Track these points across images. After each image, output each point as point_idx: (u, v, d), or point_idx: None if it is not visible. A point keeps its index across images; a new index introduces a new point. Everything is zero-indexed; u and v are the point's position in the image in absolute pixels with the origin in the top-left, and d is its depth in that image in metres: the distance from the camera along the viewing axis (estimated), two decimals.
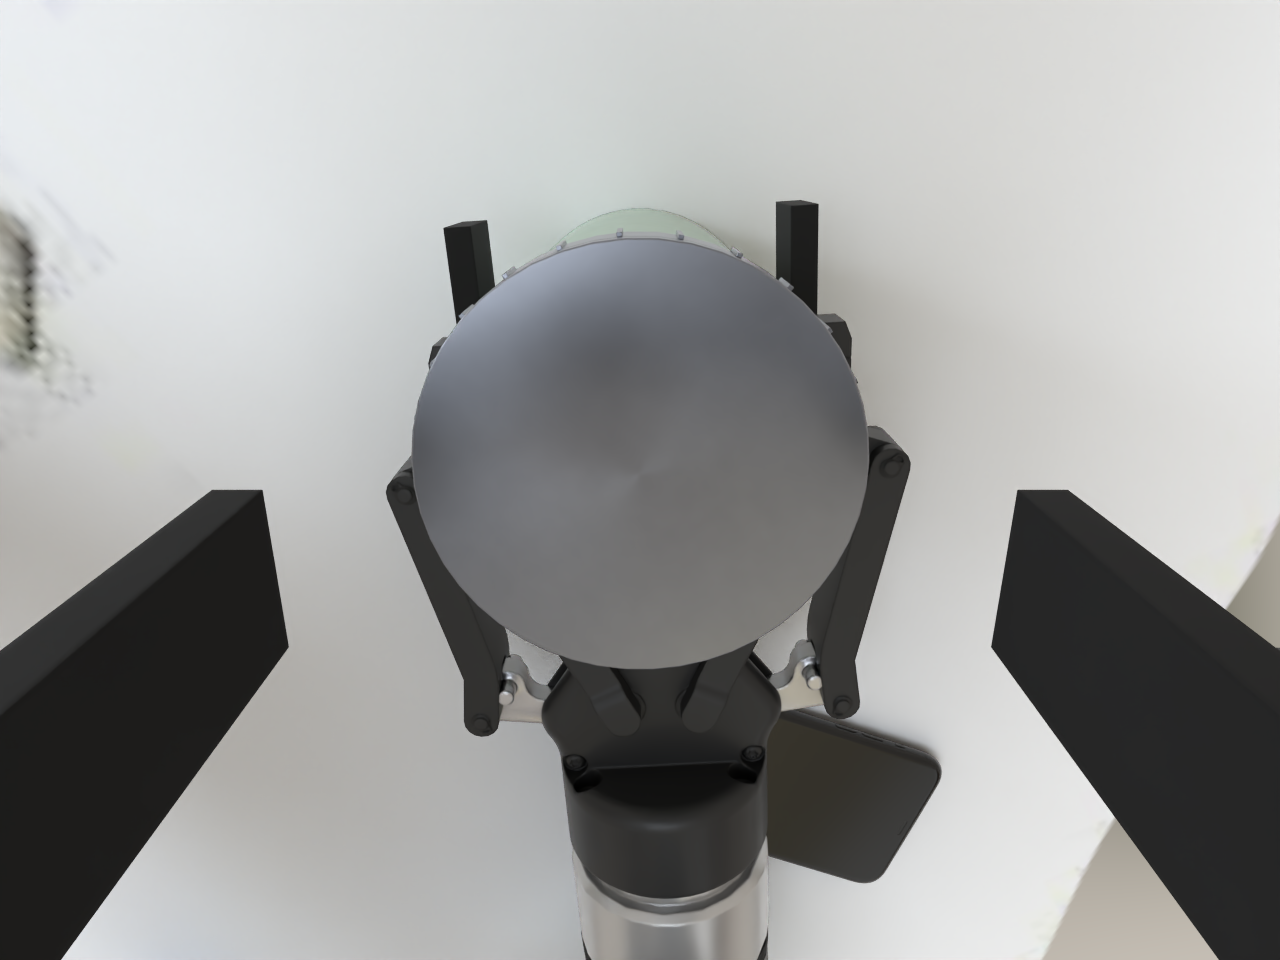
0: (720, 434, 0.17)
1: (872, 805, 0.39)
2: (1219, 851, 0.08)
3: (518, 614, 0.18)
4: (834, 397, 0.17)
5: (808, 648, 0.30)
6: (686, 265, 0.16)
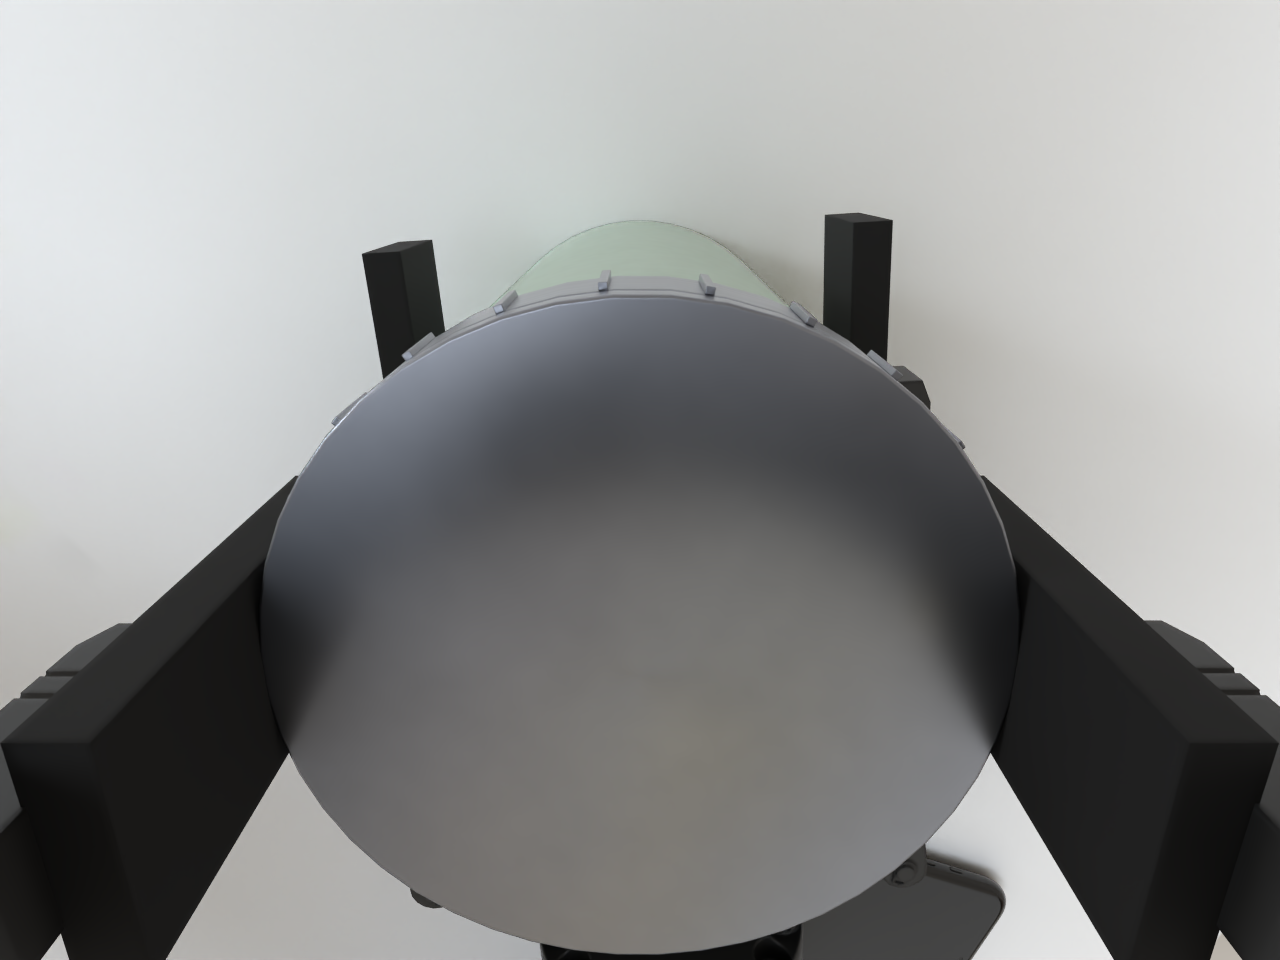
0: (773, 616, 0.10)
1: (921, 939, 0.32)
2: (1082, 805, 0.09)
3: (446, 879, 0.12)
4: (968, 558, 0.10)
5: None
6: (720, 342, 0.09)
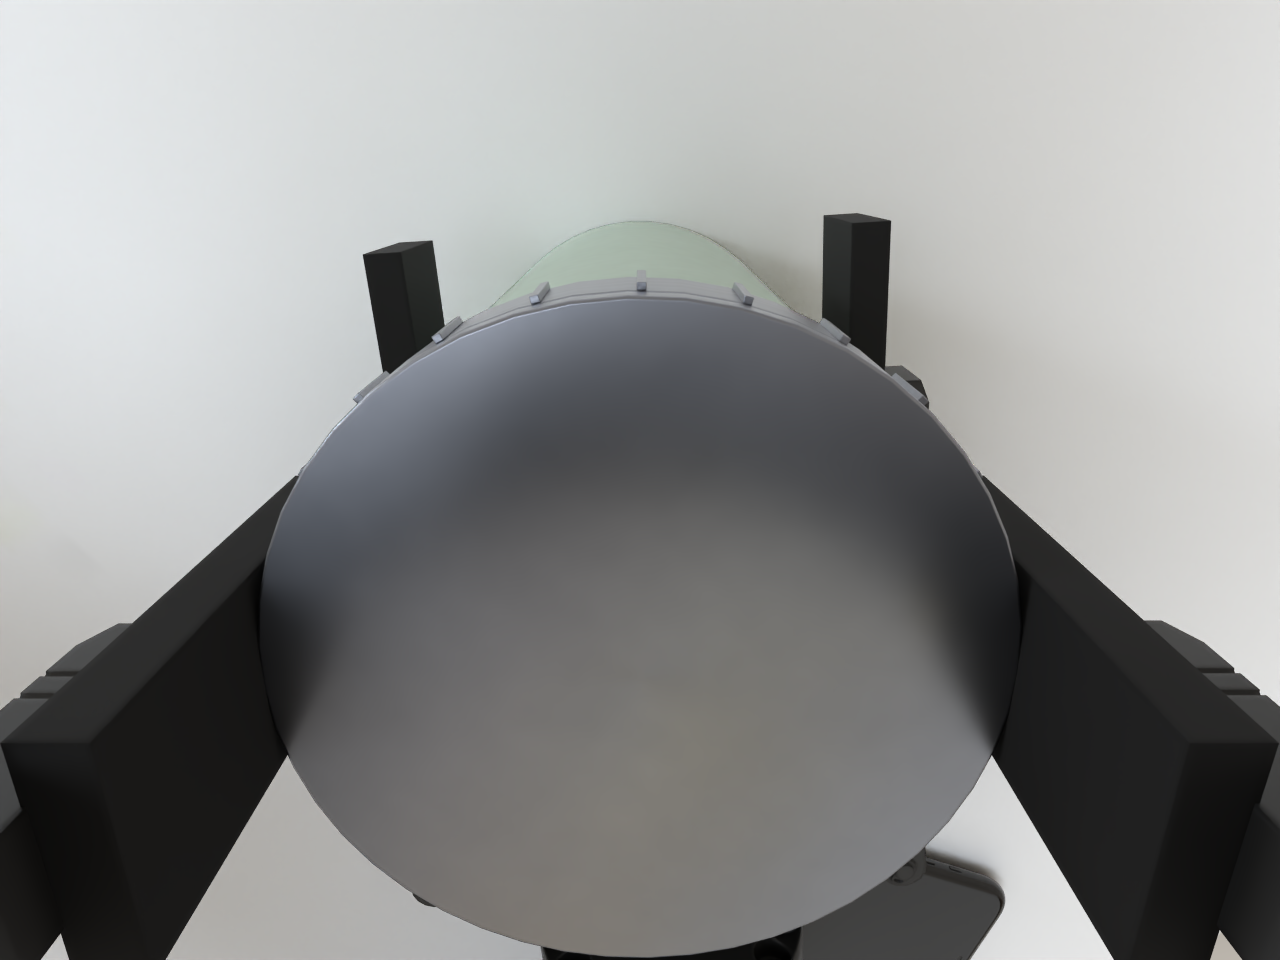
0: (553, 568, 0.10)
1: (920, 938, 0.32)
2: (1083, 806, 0.09)
3: (903, 827, 0.11)
4: (455, 390, 0.09)
5: None
6: (290, 648, 0.10)
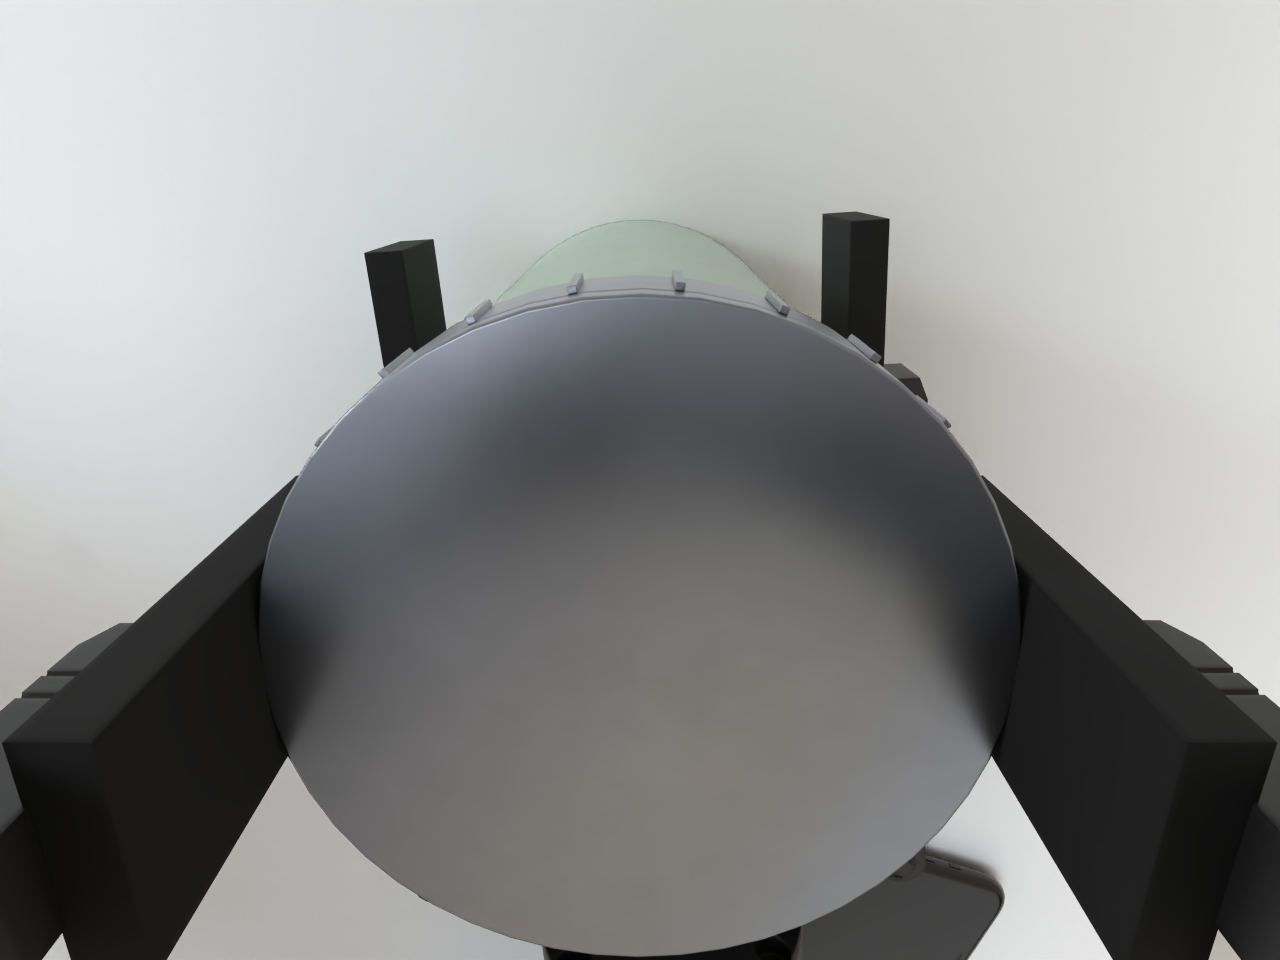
0: (529, 755, 0.11)
1: (920, 936, 0.32)
2: (1081, 805, 0.09)
3: (821, 382, 0.09)
4: (380, 828, 0.11)
5: None
6: (637, 937, 0.12)
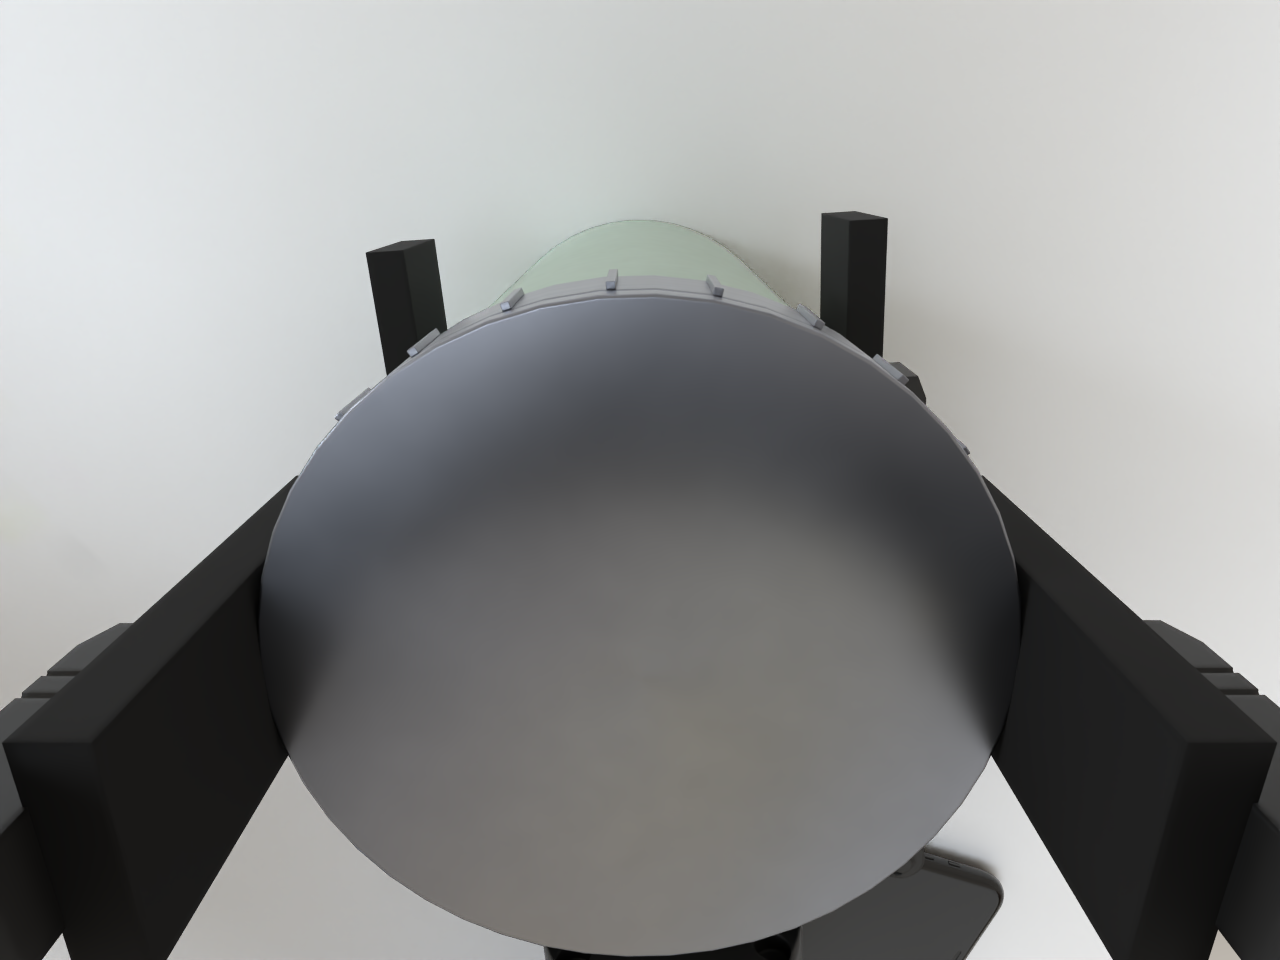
0: (740, 764, 0.11)
1: (920, 933, 0.32)
2: (1081, 806, 0.09)
3: (306, 560, 0.10)
4: (835, 878, 0.11)
5: None
6: (988, 651, 0.10)
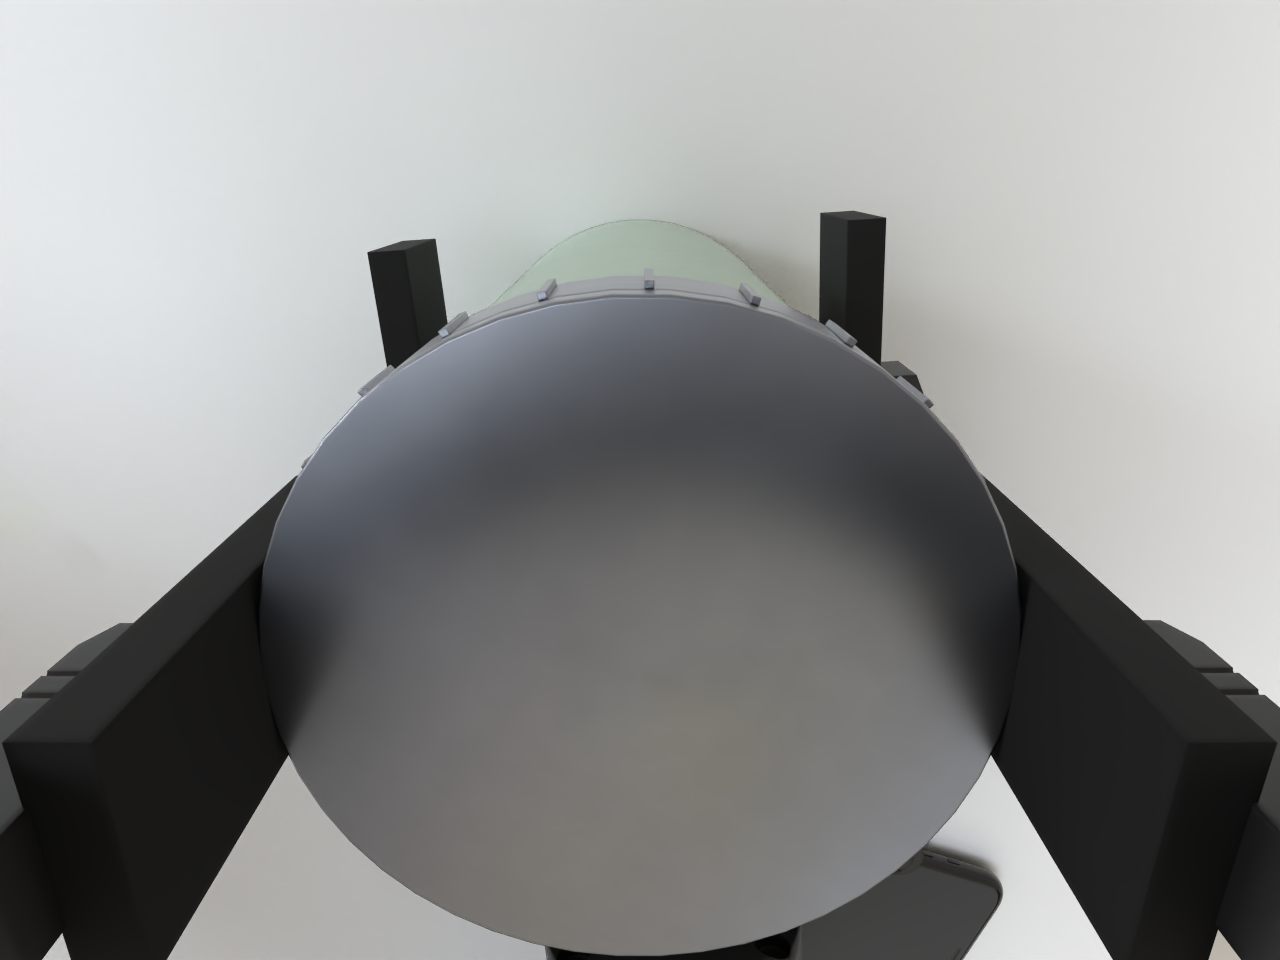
0: (738, 575, 0.10)
1: (919, 930, 0.33)
2: (1082, 805, 0.09)
3: (554, 922, 0.12)
4: (903, 448, 0.09)
5: None
6: (563, 340, 0.09)
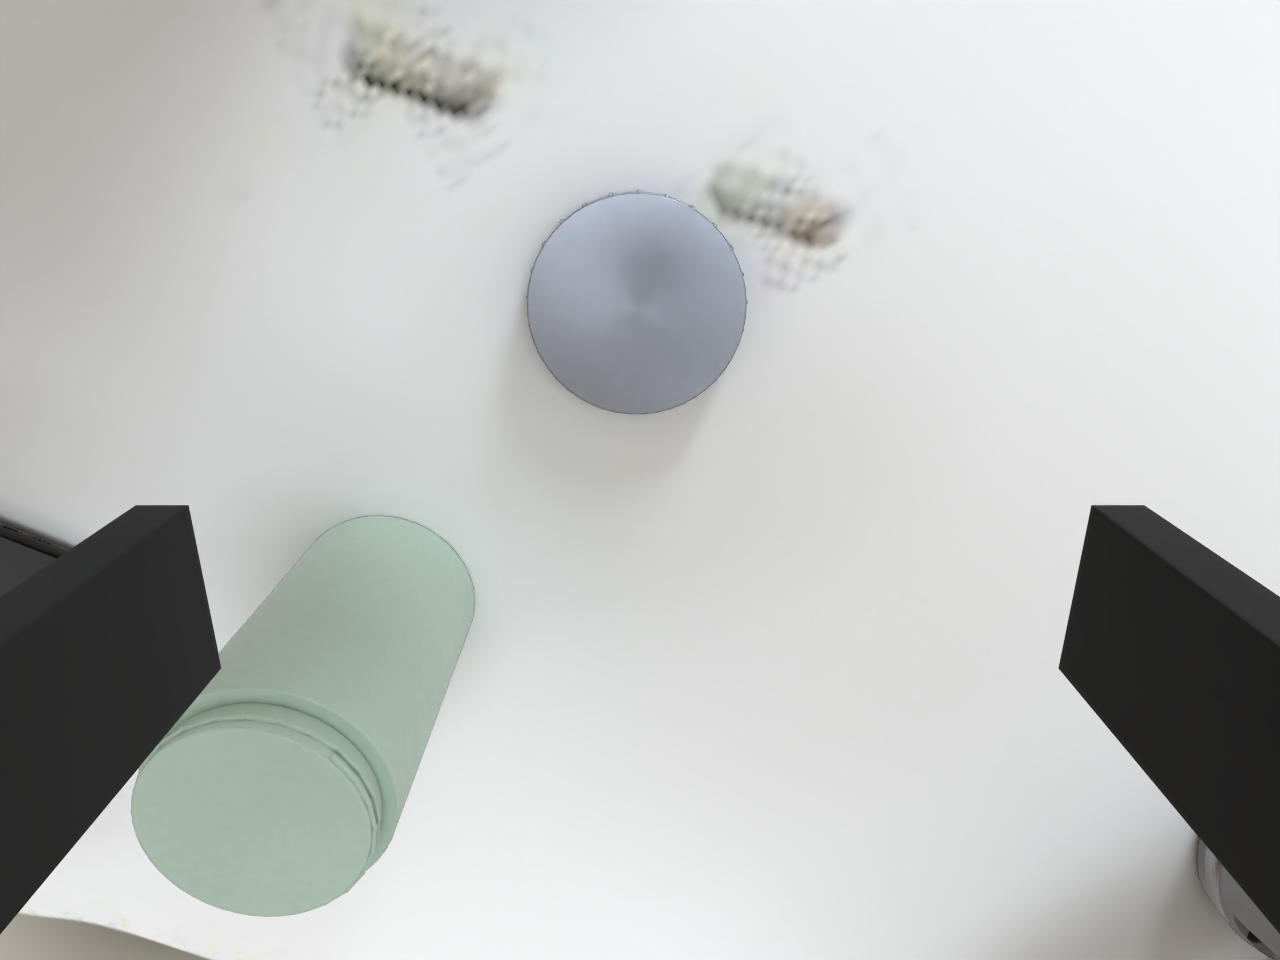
0: (664, 274, 0.35)
1: None
2: None
3: (609, 400, 0.37)
4: (707, 236, 0.35)
5: None
6: (616, 205, 0.34)
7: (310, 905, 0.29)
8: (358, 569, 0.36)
